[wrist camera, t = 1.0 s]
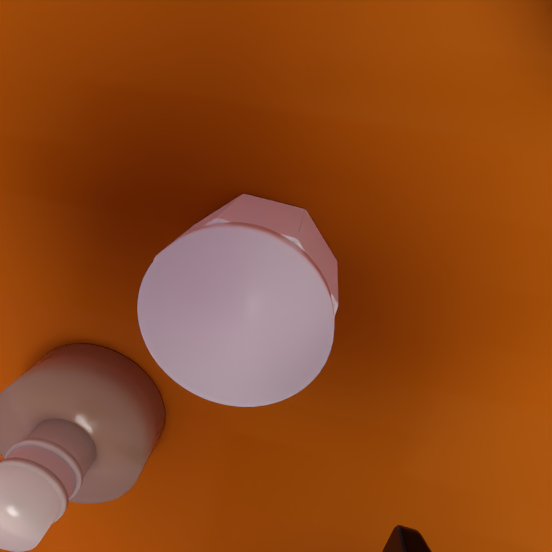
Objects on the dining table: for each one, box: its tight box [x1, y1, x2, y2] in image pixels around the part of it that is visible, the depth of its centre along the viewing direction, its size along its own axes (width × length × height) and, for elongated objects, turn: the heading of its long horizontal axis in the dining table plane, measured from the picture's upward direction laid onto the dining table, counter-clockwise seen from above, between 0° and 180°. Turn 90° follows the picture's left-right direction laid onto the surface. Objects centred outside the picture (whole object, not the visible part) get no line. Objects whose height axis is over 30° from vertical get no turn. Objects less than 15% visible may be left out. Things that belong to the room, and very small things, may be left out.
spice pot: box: [0, 344, 165, 552], centre depth 19 cm, size 8×8×7 cm
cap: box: [137, 194, 338, 407], centre depth 16 cm, size 7×7×5 cm
